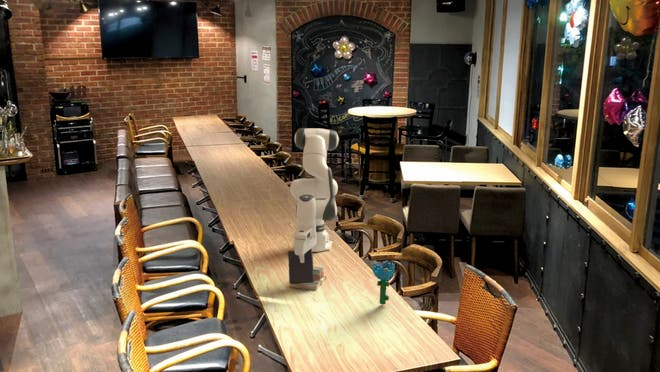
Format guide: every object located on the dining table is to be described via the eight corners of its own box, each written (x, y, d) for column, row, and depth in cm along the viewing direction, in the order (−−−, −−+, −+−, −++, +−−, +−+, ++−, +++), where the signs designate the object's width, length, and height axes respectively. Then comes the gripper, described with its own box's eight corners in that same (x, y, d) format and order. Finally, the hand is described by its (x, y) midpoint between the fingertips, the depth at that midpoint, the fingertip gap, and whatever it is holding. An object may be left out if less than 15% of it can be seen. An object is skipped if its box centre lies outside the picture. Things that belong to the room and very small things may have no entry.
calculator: (314, 282, 273) (312, 251, 278) (312, 280, 269) (311, 248, 274) (290, 284, 274) (289, 253, 279) (288, 282, 270) (288, 250, 276)
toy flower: (368, 302, 258) (369, 262, 254) (384, 298, 263) (385, 259, 259) (380, 309, 250) (382, 268, 247) (397, 305, 255) (398, 265, 252)
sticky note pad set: (301, 276, 289) (301, 262, 288) (326, 279, 285) (326, 265, 284) (289, 286, 275) (289, 272, 274) (316, 290, 271) (316, 275, 270)
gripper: (307, 224, 282) (307, 252, 285) (291, 235, 263) (291, 265, 266) (320, 225, 281) (319, 253, 283) (305, 236, 261) (304, 266, 264)
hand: (306, 259), depth 274 cm, fingers open, 8 cm apart
